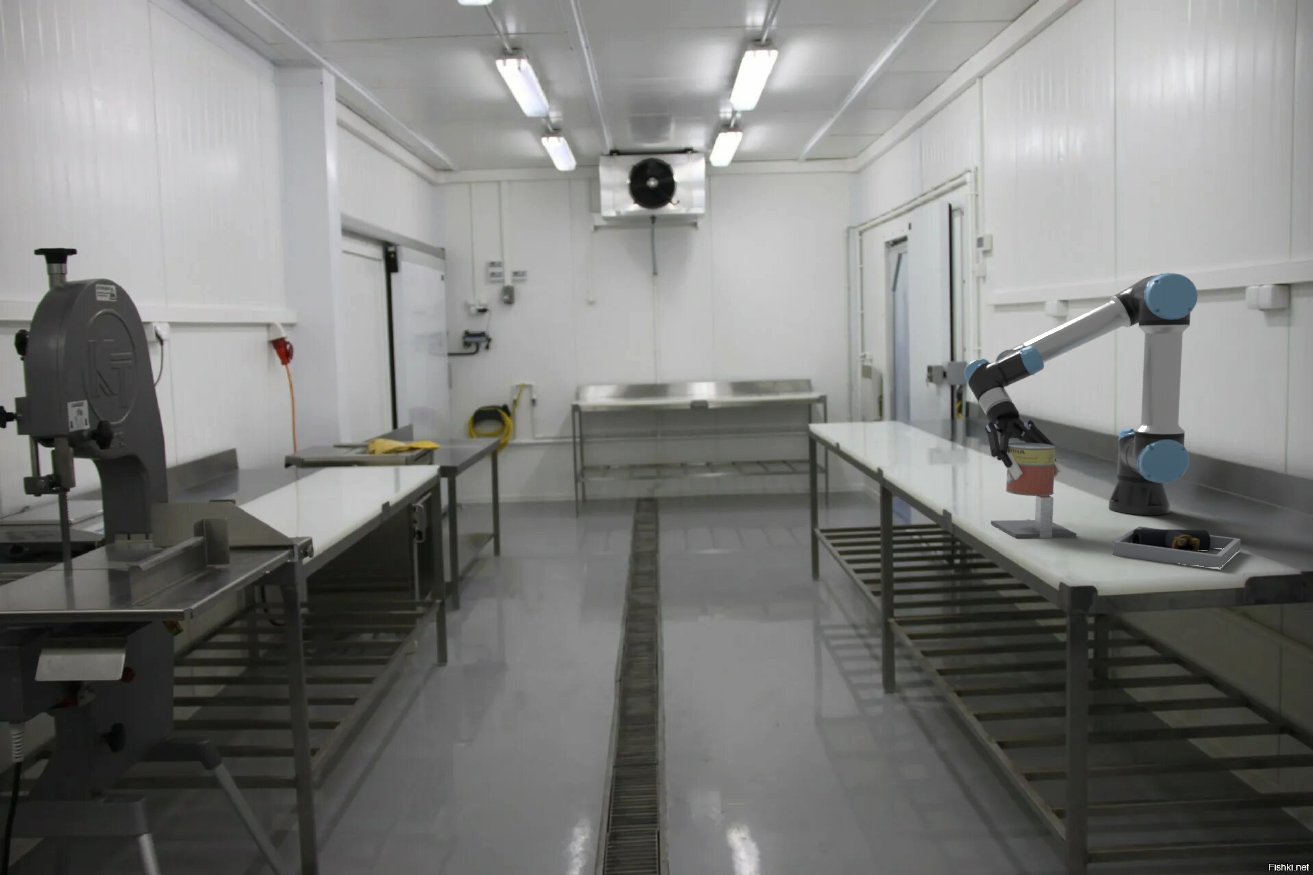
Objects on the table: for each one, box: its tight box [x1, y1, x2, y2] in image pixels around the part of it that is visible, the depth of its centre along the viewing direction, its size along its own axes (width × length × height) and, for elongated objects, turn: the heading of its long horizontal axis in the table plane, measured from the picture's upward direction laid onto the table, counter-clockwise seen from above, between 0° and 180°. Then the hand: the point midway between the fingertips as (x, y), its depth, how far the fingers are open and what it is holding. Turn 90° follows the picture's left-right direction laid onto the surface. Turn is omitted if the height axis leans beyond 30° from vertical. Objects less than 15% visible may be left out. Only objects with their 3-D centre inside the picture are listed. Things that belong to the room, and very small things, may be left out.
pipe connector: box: [1132, 528, 1211, 552], centre depth 205 cm, size 12×5×15 cm
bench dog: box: [1034, 495, 1054, 539], centre depth 223 cm, size 3×3×10 cm
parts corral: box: [1112, 526, 1241, 568], centre depth 205 cm, size 21×21×3 cm
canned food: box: [1005, 442, 1057, 497], centre depth 230 cm, size 11×11×12 cm
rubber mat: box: [990, 519, 1077, 539], centre depth 230 cm, size 16×15×1 cm
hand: (1038, 475), depth 228 cm, fingers closed on canned food, 11 cm apart
